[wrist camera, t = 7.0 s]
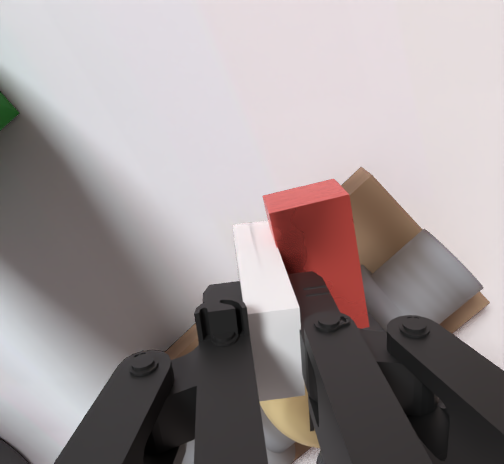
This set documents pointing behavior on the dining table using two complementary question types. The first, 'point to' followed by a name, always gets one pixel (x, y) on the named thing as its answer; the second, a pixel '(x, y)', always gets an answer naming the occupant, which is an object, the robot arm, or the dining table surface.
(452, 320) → the valve rig
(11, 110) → the milk carton
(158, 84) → the dining table surface
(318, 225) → the lever
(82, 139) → the dining table surface
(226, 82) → the dining table surface
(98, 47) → the dining table surface
